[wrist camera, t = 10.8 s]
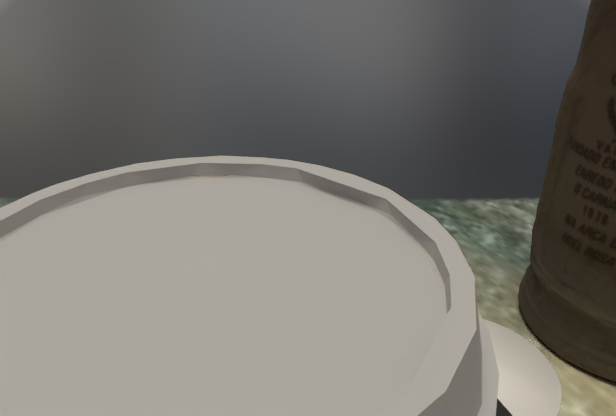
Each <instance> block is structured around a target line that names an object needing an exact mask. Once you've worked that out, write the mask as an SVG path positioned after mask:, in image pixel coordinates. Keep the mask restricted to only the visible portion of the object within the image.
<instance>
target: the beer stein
mask: <svg viewBox="0 0 616 416" xmlns="http://www.w3.org/2000/svg"><path fill="white" fill-rule="evenodd" d="M530 262H531V264H530V266H529V267H528V268H527V271H526V273H525V275H524V277H523V279H522V281H521V283H520V287H519V295H518V296H519V306H520V309H521V311H522V314H523V316H524V319H525V321H526V322H527V323H528V325H529V326H530V328H531V329H532V331H533V332H534V333H535V335H536V336H537V337H539V338H540V339H541V340H542V342H543V343H544V344H545V345H546V346H547V347H549V348H550V349H551V350H553V351H554V352H555V353H557V354H558V355H559V356H561V357H562V358H563V359H565V360H567V361H569V362H571V363H573V364H575V365H576V366H578V367H580V368H582V369H584V370H586V371H588V372H590V373H593V374H595V375H598V376H600V377H603V378H605V379H608V380H611V381H614V382H616V0H591V4H590V7H589V10H588V14H587V19H586V24H585V29H584V34H583V39H582V42H581V46H580V50H579V54H578V59H577V62H576V66H575V67H574V69H573V71H572V73H571V75H570V77H569V78H568V80H567V84H566V87H565V91H564V95H563V98H562V102H561V106H560V109H559V112H558V116H557V120H556V126H555V132H554V138H553V144H552V148H551V152H550V157H549V160H548V164H547V168H546V173H545V178H544V184H543V189H542V193H541V196H540V200H539V203H538V207H537V213H536V219H535V223H534V226H533V229H532V245H531V254H530Z"/></svg>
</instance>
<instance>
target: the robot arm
mask: <svg viewBox="0 0 616 416" xmlns="http://www.w3.org/2000/svg"><path fill="white" fill-rule="evenodd" d="M496 416H512V414H511V413H510V412H509V411H508V410H507V409H506V407H505V406H504V405H503V404H502V403H501V402H500V401H499V399H498V398H497V407H496Z"/></svg>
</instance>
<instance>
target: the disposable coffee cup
mask: <svg viewBox="0 0 616 416" xmlns="http://www.w3.org/2000/svg"><path fill="white" fill-rule="evenodd" d="M498 383H499V371H498V367H497V362H496V358H495V353H494V349H493V344H492V340H491V335H490V331H489V328H488V327H487V325H486V323H485V321H484V320H483V318H482V316H481V314H480V313H479V311H478V307H477V297H476V287H475V277H474V274H473V273H472V271H471V269H470V267H469V265H468V263H467V261H466V259H465V257H464V255H463V253H462V252H461V250H460V248H459V246H458V244H457V242H456V241H455V240H454V239H453V237H452V236H451V235H450V234H449V233H448V232H447V231H446V230H445V229H444V228H443V227H442V226H441V225H440V224H439V222H438V221H437V220H436V219H435V218H433V217H432V216H430V215H429V214H427V213H426V212H424V211H423V210H421V209H419V208H418V207H416V206H415V205H413V204H412V203H410V202H409V201H407V200H406V199H404V198H402V197H401V196H399V195H398V194H396V193H395V192H393V191H392V190H390V189H388V188H386V187H383V186H381V185H378V184H376V183H373V182H371V181H368V180H366V179H363V178H361V177H358V176H355V175H353V174H349V173H345V172H342V171H338V170H334V169H331V168H327V167H323V166H319V165H314V164H308V163H303V162H297V161H292V160H282V159H272V158H259V157H238V156H237V157H236V156H213V157H212V156H211V157H196V158H179V159H169V160H162V161H154V162H146V163H138V164H133V165H129V166H124V167H120V168H115V169H111V170H107V171H102V172H98V173H93V174H90V175H86V176H83V177H79V178H76V179H72V180H69V181H66V182H62V183H59V184H56V185H53V186H50V187H48V188H46V189H43V190H40V191H38V192H35V193H33V194H30V195H28V196H26V197H23V198H21V199H19V200H17V201H15V202H13V203H11V204H8V205H6V206H4V207H2V208H0V416H496V407H497V395H498Z"/></svg>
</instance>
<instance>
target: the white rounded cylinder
mask: <svg viewBox="0 0 616 416" xmlns="http://www.w3.org/2000/svg"><path fill="white" fill-rule="evenodd" d="M483 320H484V319H483ZM484 321H485V323H486V325H487V327H488V328H489V331H490V335H491V340H492V344H493V349H494V353H495V358H496V362H497V367H498V371H499V383H498V395H497V398H498V399H499V401H500V402H501V403H502V404H503V405H504V406H505V407H506V409H507V410H508V411H509V412H510V413H511V414H512V416H557V415H558V412H559V409H560V405H561V400H562V390H561V385H560V381H559V378H558V376H557V373H556V372H555V370H554V368H553V366H552V365H551V363H550V362H549V361H548V359H547V358H546V357H545V356H544V355H543V354H542V353H541V351H540V350H538V349H537V348H536V347H535V346H534V345H533V344H532V343H530V342H529V341H527V340H526V339H525V338H523V337H522V336H520V335H518V334H517V333H515V332H513V331H511V330H509V329H507V328H506V327H503V326H501V325H498V324H496V323H493V322H490V321H487V320H484Z"/></svg>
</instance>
